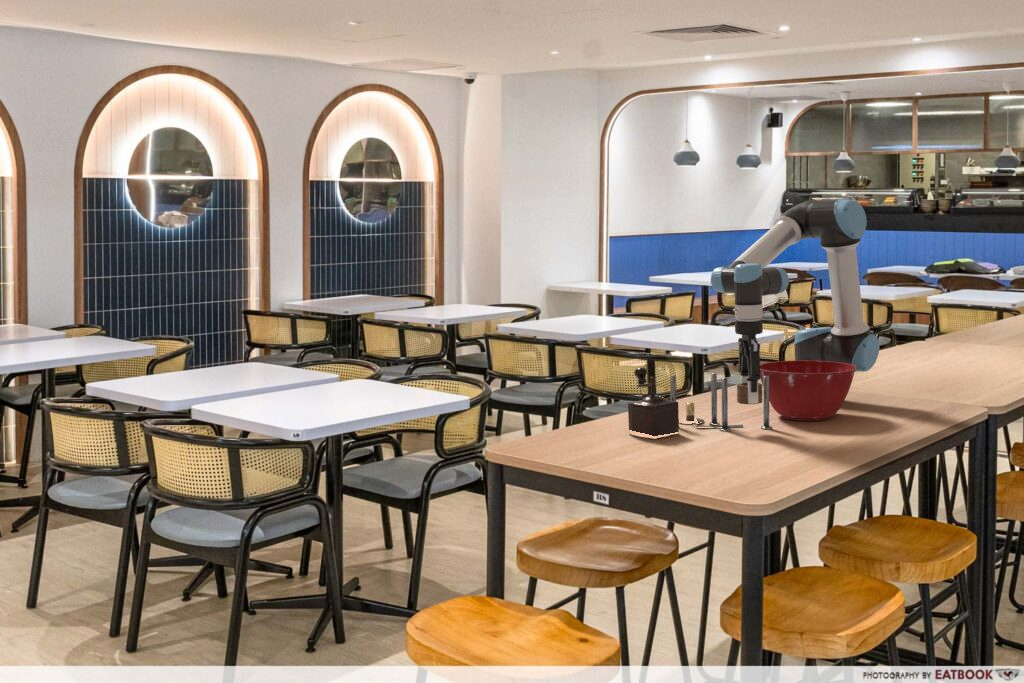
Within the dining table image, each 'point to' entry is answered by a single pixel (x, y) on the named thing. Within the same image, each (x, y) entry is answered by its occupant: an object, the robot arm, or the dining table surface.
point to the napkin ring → (743, 393)
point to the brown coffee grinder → (652, 411)
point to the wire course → (725, 401)
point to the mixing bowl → (807, 387)
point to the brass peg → (691, 412)
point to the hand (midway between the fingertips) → (749, 401)
